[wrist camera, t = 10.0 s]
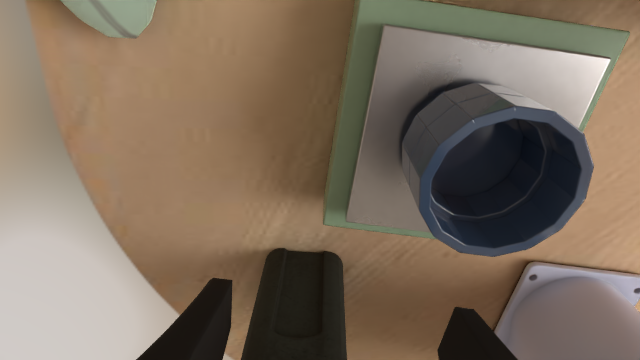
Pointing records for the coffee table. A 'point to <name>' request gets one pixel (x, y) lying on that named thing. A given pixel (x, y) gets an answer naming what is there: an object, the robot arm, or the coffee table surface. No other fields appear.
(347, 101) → the scale
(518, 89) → the pan
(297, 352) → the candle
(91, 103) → the coffee table surface
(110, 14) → the robot head
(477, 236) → the bowl
